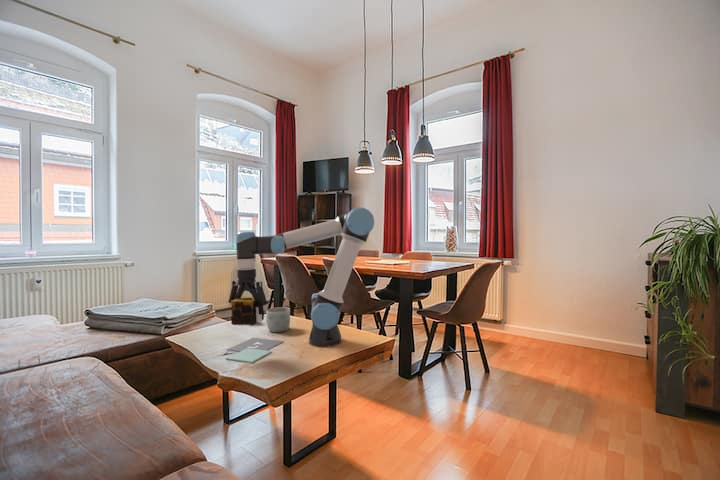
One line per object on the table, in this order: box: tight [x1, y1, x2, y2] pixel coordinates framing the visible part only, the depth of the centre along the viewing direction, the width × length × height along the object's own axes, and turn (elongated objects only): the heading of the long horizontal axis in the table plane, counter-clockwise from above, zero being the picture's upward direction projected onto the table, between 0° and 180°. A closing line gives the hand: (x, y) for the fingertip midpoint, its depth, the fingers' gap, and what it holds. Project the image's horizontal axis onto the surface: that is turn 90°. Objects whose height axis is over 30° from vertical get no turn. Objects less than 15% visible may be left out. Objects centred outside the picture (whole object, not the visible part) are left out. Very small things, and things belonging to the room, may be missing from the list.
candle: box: [230, 296, 265, 326], centre depth 150 cm, size 10×10×10 cm
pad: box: [226, 348, 272, 364], centre depth 150 cm, size 13×13×1 cm
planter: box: [265, 306, 291, 333], centre depth 189 cm, size 12×12×11 cm
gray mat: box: [226, 337, 285, 353], centre depth 164 cm, size 18×18×1 cm
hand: (248, 320), depth 150 cm, fingers closed on candle, 11 cm apart
